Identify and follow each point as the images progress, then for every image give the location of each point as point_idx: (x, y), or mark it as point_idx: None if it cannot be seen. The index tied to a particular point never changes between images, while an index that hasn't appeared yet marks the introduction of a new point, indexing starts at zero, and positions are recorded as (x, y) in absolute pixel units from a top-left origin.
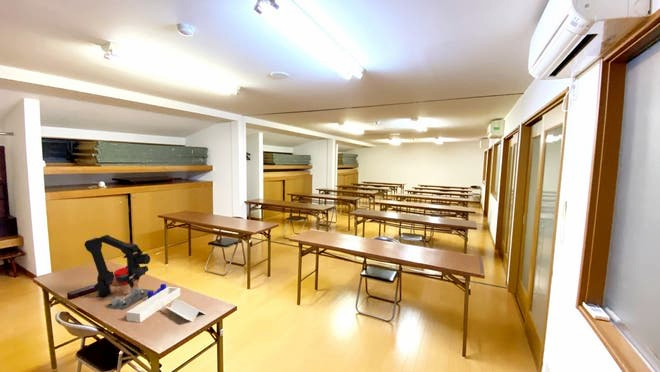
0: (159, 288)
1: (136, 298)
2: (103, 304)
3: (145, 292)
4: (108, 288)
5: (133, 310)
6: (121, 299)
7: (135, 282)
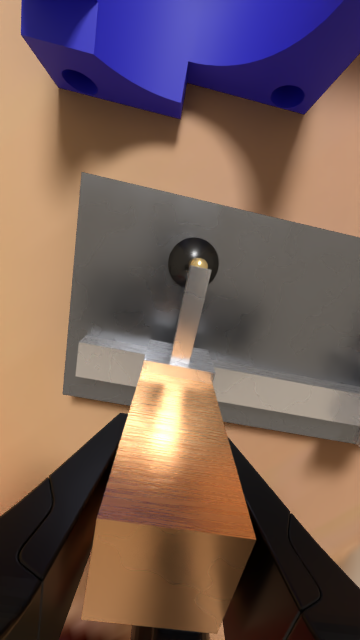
0: (51, 37)
1: (299, 265)
2: (313, 494)
3: (148, 252)
4: (172, 636)
5: None
6: None
7: (184, 467)
